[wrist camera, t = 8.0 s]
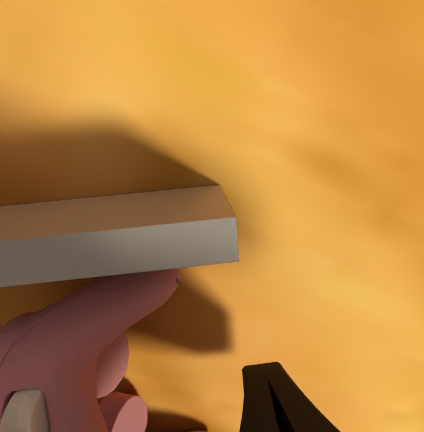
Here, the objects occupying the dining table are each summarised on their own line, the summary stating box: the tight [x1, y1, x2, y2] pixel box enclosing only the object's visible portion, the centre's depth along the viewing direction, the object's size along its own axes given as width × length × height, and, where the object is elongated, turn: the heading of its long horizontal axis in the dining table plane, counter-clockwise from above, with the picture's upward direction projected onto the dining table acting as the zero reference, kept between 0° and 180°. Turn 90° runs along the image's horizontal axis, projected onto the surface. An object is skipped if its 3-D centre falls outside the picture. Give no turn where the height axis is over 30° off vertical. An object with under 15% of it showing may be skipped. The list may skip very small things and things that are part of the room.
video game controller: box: [0, 268, 207, 432], centre depth 12 cm, size 10×5×7 cm, turn 10°
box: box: [0, 185, 239, 287], centre depth 12 cm, size 14×15×4 cm
